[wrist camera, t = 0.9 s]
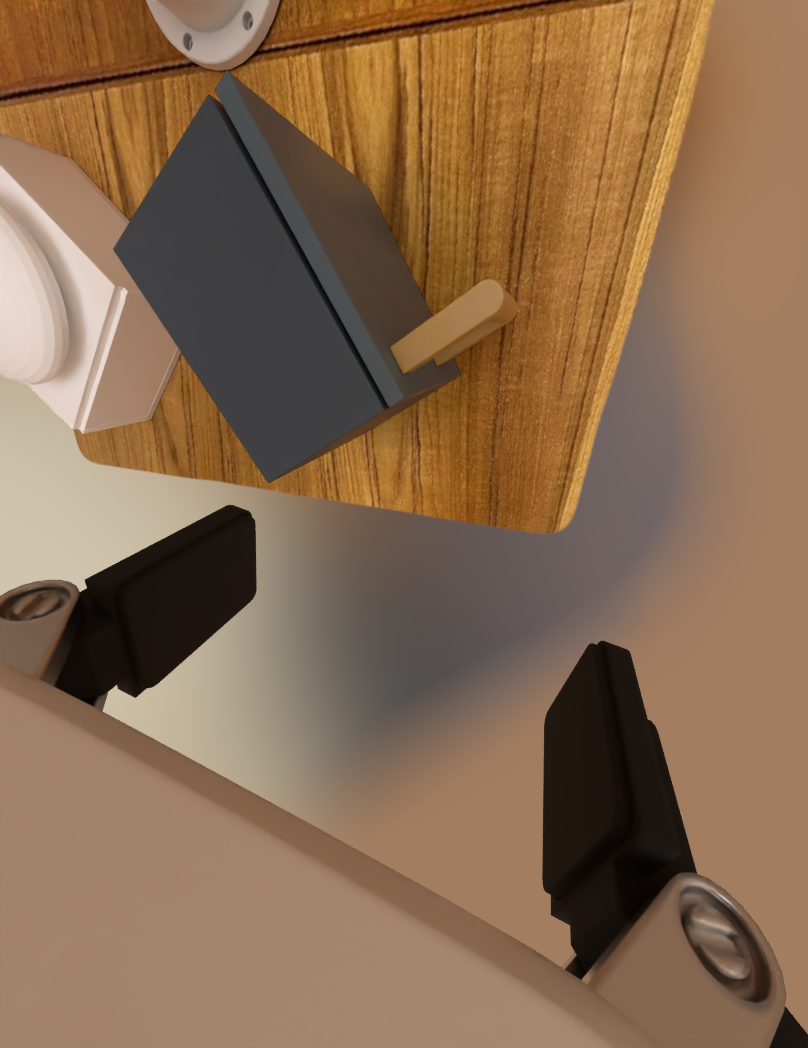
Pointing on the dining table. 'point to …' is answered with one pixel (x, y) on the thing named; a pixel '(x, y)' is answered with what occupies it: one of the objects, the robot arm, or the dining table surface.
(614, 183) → the dining table surface
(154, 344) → the butter dish
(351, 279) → the door
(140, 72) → the dining table surface
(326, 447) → the cupboard
